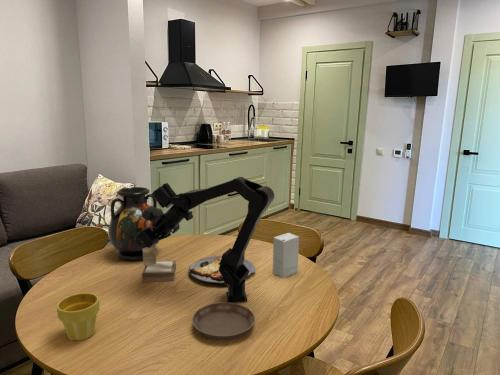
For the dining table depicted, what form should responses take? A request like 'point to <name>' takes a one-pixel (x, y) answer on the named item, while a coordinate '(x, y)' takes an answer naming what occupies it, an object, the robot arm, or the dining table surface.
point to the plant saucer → (223, 321)
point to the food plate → (212, 269)
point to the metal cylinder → (149, 256)
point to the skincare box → (285, 255)
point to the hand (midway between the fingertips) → (145, 244)
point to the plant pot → (79, 314)
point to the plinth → (159, 271)
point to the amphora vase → (129, 222)
